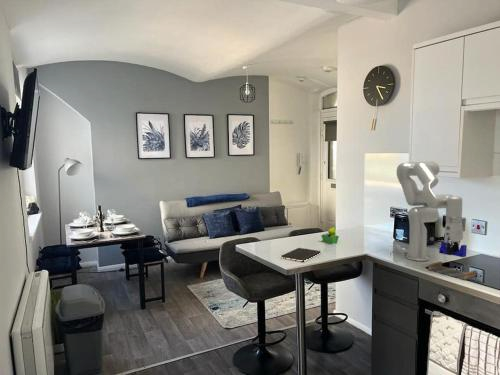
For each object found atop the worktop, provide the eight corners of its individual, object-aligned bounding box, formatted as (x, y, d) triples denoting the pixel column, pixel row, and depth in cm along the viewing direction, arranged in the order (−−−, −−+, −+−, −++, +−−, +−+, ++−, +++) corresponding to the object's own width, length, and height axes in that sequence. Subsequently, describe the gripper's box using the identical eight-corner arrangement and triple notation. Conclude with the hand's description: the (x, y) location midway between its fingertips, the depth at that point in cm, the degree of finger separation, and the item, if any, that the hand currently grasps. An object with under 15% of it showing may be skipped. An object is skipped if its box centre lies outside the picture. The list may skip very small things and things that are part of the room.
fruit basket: (320, 241, 276) (320, 226, 275) (329, 240, 281) (329, 225, 280) (331, 245, 267) (332, 229, 266) (340, 243, 272) (340, 227, 271)
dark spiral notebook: (280, 259, 236) (280, 255, 235) (298, 251, 254) (298, 247, 254) (303, 263, 226) (303, 259, 226) (320, 254, 245) (320, 251, 245)
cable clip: (439, 253, 205) (439, 242, 205) (443, 251, 208) (444, 241, 207) (461, 257, 195) (462, 246, 195) (466, 256, 198) (466, 245, 197)
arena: (428, 270, 208) (428, 264, 208) (439, 266, 214) (440, 261, 214) (465, 280, 191) (465, 274, 191) (476, 276, 197) (476, 270, 197)
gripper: (451, 222, 192) (450, 257, 194) (469, 218, 201) (468, 252, 203) (437, 220, 199) (436, 254, 200) (455, 217, 208) (454, 249, 209)
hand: (452, 253), depth 202 cm, fingers closed on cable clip, 4 cm apart
